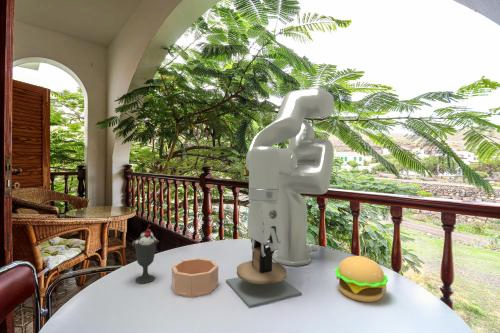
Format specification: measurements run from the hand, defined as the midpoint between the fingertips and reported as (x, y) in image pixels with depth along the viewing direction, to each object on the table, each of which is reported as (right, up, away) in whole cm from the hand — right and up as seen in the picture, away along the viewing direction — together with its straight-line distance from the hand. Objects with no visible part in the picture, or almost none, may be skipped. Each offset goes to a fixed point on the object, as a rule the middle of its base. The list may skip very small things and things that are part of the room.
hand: (261, 268), depth 65 cm
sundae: (-31, -5, +4) cm, 31 cm away
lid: (0, -1, 0) cm, 1 cm away
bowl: (-17, -5, +1) cm, 18 cm away
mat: (0, -5, 0) cm, 5 cm away
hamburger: (+24, -6, -1) cm, 25 cm away
